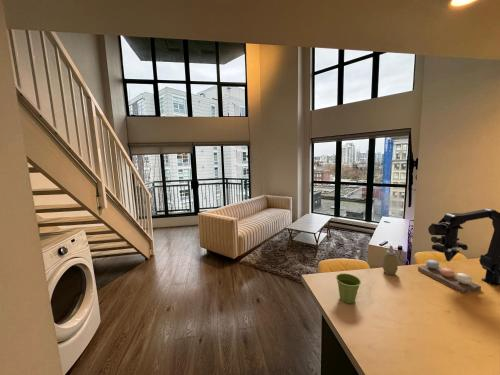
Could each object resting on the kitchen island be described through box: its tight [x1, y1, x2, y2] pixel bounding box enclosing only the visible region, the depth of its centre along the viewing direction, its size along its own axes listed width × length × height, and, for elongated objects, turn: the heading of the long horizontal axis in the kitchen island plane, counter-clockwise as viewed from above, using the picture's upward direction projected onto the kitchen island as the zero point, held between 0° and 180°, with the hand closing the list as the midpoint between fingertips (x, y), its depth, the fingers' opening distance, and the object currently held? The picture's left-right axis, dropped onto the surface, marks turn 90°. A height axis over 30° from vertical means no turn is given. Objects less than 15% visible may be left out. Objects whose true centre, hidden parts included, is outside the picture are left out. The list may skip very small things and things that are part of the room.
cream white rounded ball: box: [456, 272, 473, 285], centre depth 117 cm, size 6×6×6 cm
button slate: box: [425, 259, 440, 270], centre depth 134 cm, size 6×6×6 cm
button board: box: [417, 265, 482, 294], centre depth 126 cm, size 12×25×2 cm, turn 11°
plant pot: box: [335, 272, 362, 304], centre depth 110 cm, size 12×12×11 cm
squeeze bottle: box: [382, 245, 399, 276], centre depth 134 cm, size 8×8×18 cm
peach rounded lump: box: [440, 267, 455, 278], centre depth 126 cm, size 6×6×6 cm
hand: (448, 261), depth 124 cm, fingers closed
